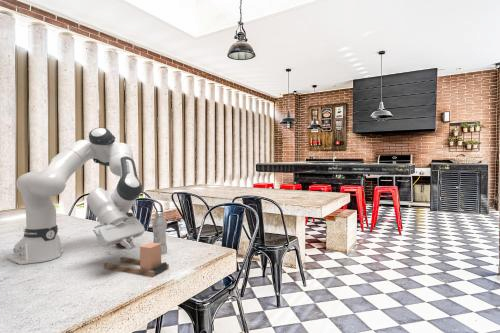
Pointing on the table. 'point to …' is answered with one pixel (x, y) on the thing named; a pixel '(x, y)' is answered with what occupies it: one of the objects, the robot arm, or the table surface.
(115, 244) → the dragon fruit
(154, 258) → the block
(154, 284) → the table surface
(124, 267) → the chute
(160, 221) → the plastic bottle
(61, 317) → the table surface
